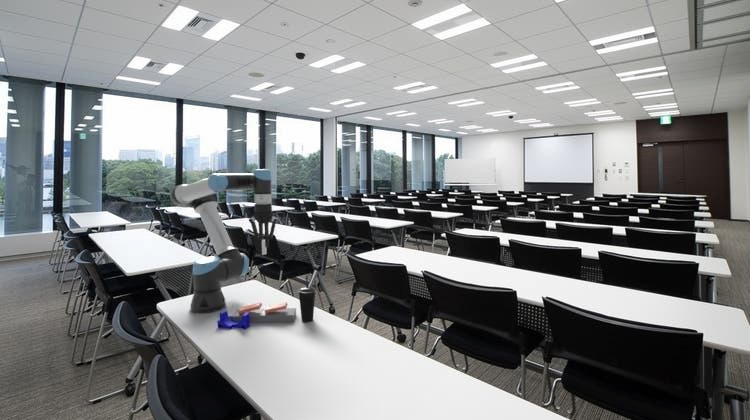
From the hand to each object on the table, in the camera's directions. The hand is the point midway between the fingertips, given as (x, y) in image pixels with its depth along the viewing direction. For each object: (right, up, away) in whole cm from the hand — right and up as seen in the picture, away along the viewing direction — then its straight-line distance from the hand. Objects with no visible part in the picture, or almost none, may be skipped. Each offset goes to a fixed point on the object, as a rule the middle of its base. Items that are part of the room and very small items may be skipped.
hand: (264, 254), depth 166 cm
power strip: (0, -28, -9) cm, 29 cm away
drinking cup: (+22, -28, -9) cm, 37 cm away
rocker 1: (-3, -23, -10) cm, 25 cm away
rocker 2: (+8, -23, -9) cm, 26 cm away
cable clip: (-8, -29, -17) cm, 34 cm away
